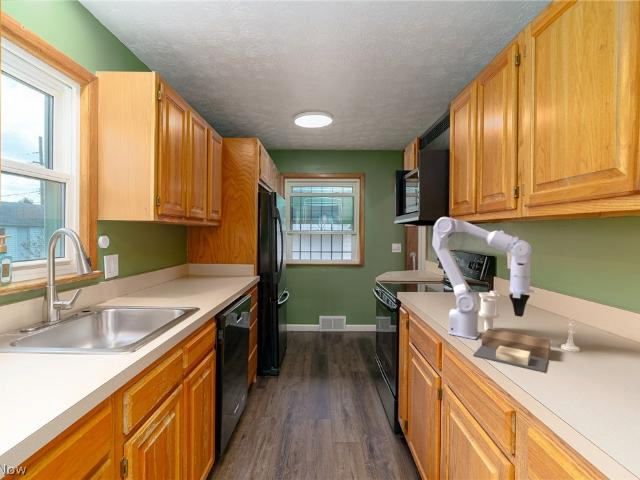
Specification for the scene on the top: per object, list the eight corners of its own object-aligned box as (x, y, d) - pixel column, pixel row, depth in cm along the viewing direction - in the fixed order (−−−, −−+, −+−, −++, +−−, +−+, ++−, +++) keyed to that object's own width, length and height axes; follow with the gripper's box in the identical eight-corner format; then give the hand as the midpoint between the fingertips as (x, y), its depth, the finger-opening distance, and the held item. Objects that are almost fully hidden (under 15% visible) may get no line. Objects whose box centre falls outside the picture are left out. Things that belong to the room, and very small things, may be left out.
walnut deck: (481, 346, 108) (481, 335, 108) (488, 338, 116) (488, 328, 116) (547, 360, 97) (548, 348, 97) (550, 350, 105) (550, 339, 104)
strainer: (503, 331, 124) (504, 292, 123) (489, 333, 121) (490, 293, 121) (487, 326, 130) (488, 289, 130) (474, 328, 128) (475, 290, 127)
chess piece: (577, 353, 103) (578, 321, 102) (558, 348, 107) (559, 318, 106) (581, 349, 106) (582, 318, 106) (563, 345, 110) (564, 315, 109)
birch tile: (499, 345, 101) (499, 352, 101) (495, 351, 97) (495, 358, 97) (530, 351, 96) (530, 359, 96) (527, 357, 92) (527, 365, 92)
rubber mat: (473, 356, 99) (473, 354, 99) (481, 346, 108) (481, 345, 108) (544, 372, 88) (544, 371, 88) (547, 360, 96) (547, 359, 96)
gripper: (531, 279, 102) (530, 322, 102) (536, 274, 113) (535, 313, 114) (506, 277, 106) (504, 318, 107) (513, 273, 118) (511, 310, 118)
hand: (518, 315), depth 111 cm, fingers closed
